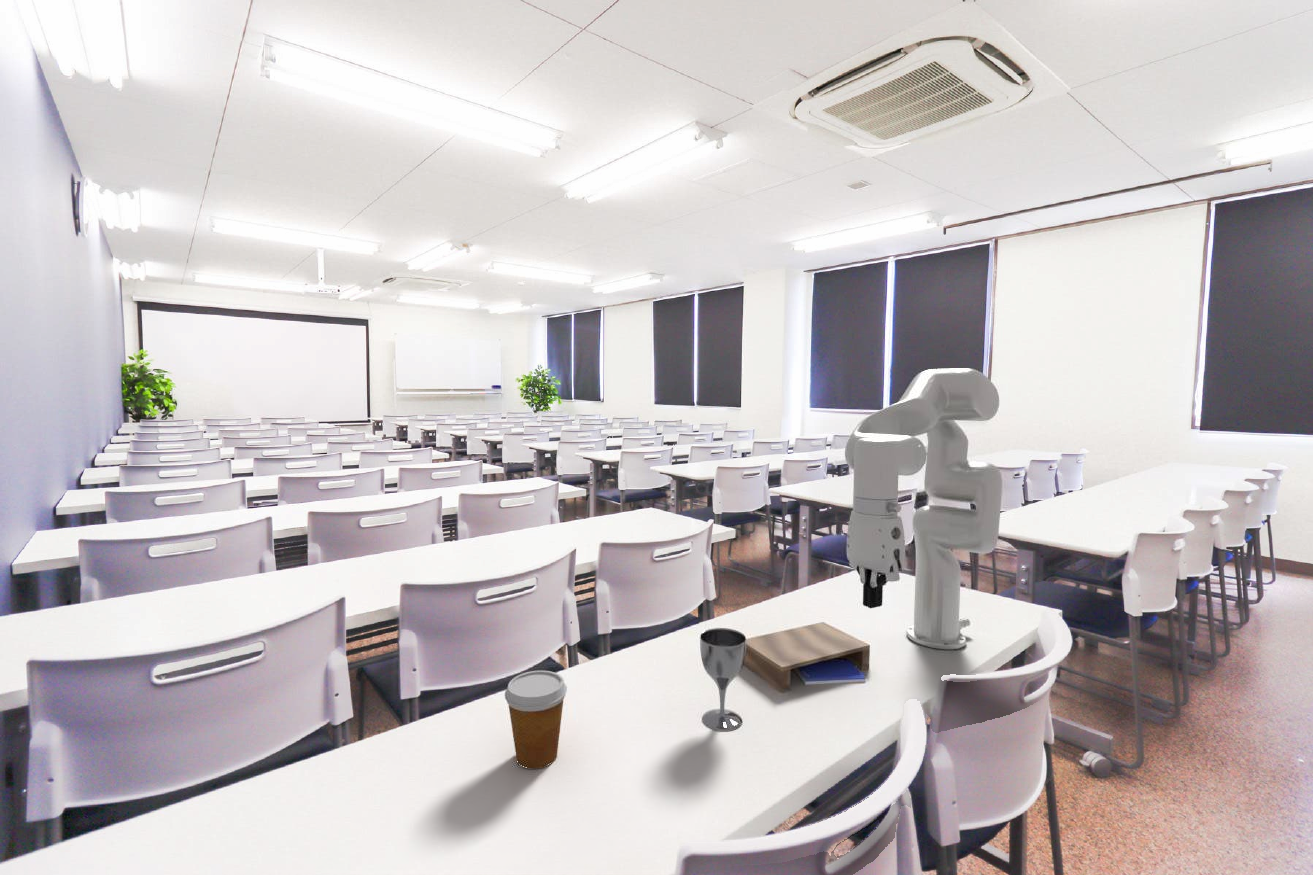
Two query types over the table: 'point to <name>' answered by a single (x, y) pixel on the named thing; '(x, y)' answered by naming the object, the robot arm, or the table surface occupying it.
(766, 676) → the wooden shelf
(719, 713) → the wine glass
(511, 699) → the disposable coffee cup
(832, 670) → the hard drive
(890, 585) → the table surface
